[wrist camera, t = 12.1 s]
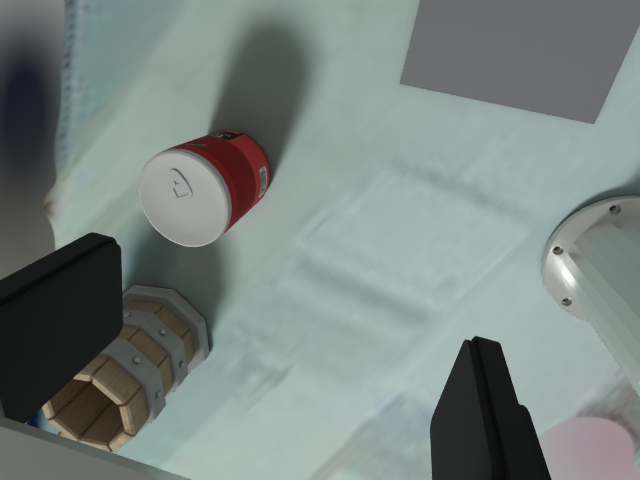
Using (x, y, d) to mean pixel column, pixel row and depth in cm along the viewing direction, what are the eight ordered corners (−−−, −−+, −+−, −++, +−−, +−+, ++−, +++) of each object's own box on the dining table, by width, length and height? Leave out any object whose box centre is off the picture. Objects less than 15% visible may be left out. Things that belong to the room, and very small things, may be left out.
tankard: (151, 266, 49) (52, 343, 36) (228, 338, 51) (161, 437, 38) (75, 347, 58) (-29, 435, 44) (144, 406, 59) (64, 508, 46)
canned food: (240, 113, 40) (183, 129, 30) (288, 182, 42) (248, 220, 32) (186, 155, 43) (117, 183, 33) (232, 218, 45) (180, 263, 35)
